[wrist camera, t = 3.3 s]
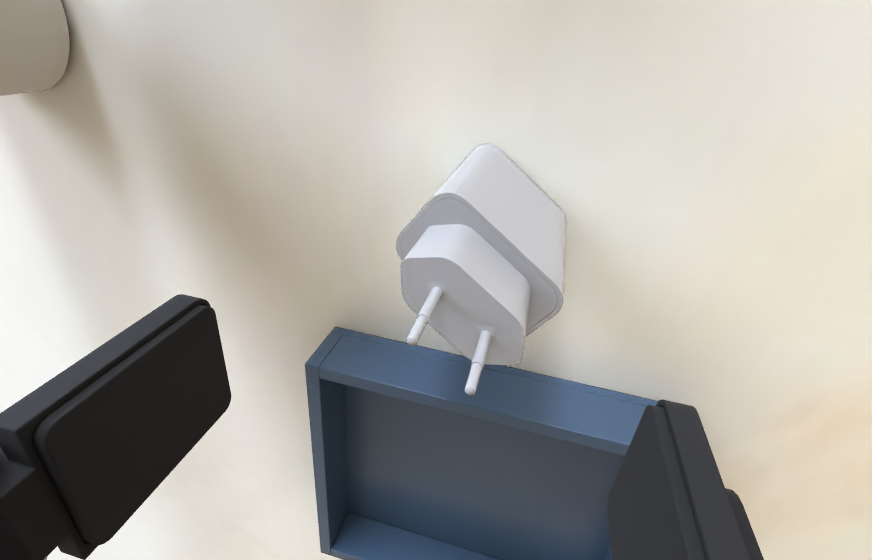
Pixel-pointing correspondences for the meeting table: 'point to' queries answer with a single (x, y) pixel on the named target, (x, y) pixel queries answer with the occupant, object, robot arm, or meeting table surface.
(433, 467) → the tray
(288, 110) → the meeting table surface
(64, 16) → the travel mug
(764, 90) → the meeting table surface
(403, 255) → the power adapter
